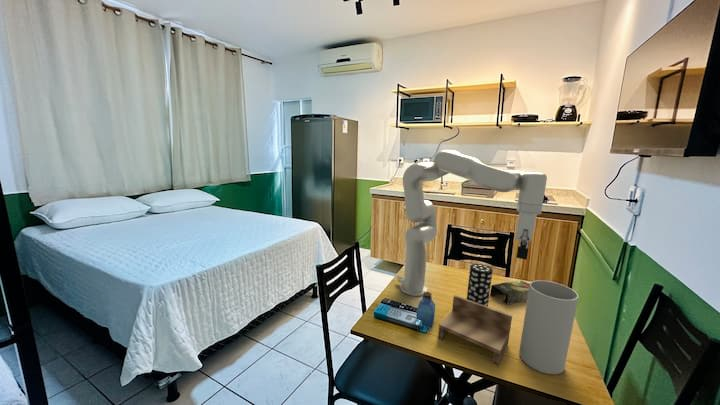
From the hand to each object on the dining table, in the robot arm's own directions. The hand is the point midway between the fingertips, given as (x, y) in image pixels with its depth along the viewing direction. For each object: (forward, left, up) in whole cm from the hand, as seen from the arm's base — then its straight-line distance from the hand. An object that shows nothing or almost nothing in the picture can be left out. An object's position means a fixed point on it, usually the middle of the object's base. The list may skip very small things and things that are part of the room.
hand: (522, 254), depth 104 cm
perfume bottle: (-27, -18, -30) cm, 44 cm away
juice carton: (-5, +28, -31) cm, 41 cm away
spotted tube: (-14, +2, -30) cm, 33 cm away
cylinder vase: (+11, -12, -30) cm, 34 cm away
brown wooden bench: (-9, -18, -30) cm, 36 cm away
